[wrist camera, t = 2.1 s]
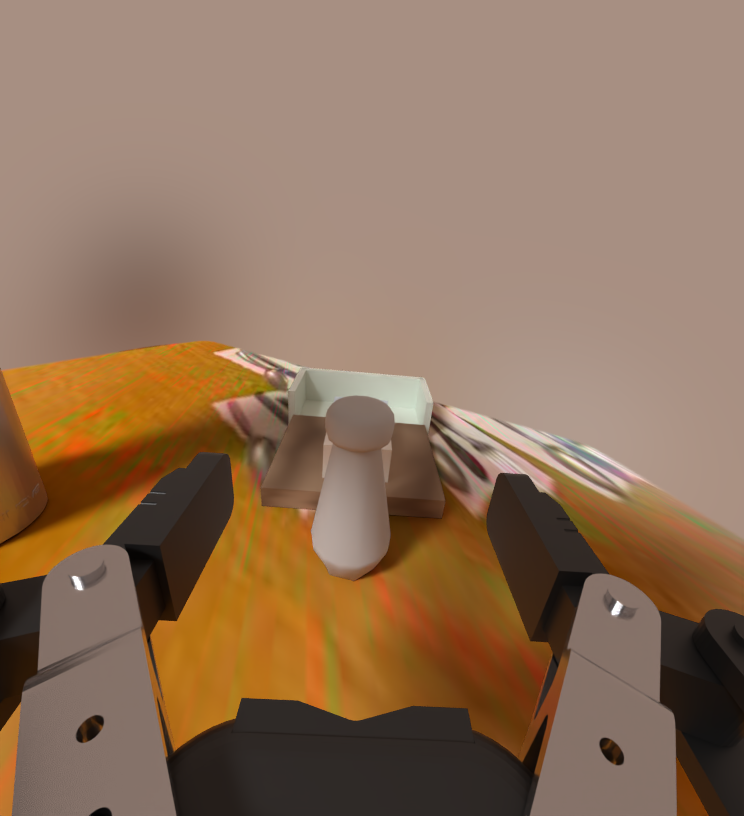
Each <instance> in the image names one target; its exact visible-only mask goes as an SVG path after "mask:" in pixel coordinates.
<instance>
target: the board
mask: <svg viewBox="0 0 744 816" xmlns="http://www.w3.org/2000/svg"><path fill="white" fill-rule="evenodd" d="M325 418H326V417H318V416H305V415H293V416H292V419H291V421H290V423H289V425H288V428H287V430H286V432H285V434H284V437H283V439H282V441H281V443H280V446H279V448H278V450H277V452H276V455H275V457H274V459H273V461H272V464H271V466H270V468H269V470H268V473H267V475H266V477H265V479H264V482H263V484H262V486H261V499H262V506H272V507H286V508H301V509H315V510H316V509H317V505H318V501H319V497H320V493H321V489H322V485H323V481H324V478H322V470H323V444H324V440H325V436H326V428H325ZM391 445H392V454H391V461H390V469H389V476H388V483H387V482H385V488H386V497H387V506H388V515H400V516H414V517H428V518H442V515H443V510H444V506H445V497H444V493H443V490H442V486H441V482H440V479H439V475H438V471H437V468H436V464H435V460H434V457H433V453H432V449H431V446H430V442H429V438H428V435H427V431H426V427H425V425H418V424H406V423H395V425H394V430H393V434H392V437H391Z"/></svg>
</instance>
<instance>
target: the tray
mask: <svg viewBox="0 0 744 816" xmlns="http://www.w3.org/2000/svg"><path fill="white" fill-rule="evenodd" d="M355 395H357V396H368V397H372V398H376V399H379V400H385V401H388V406H389V407H390V408H391V410H392V412H393V413H394V419H395V423H406V424H418V425H425V427H426V431H427V435H428V432H429V426H430V420H431V415H432V409H433V400H432V397H431V394H430V391H429V389H428V386H427V383H426V381H425V378H422V377H410V376H398V375H386V374H374V373H363V372H351V371H339V370H327V369H315V368H303V367H302V368H300V370H299V372H298V374H297V376H296V378H295V379H294V381H293V383H292V385H291V387H290V389H289V390H288V415H289V423H290V421H291V419H292V416H293V415H305V416H318V417H326V413H327V409H328V408H329V407H330V406H331V404H332V403H333V402H334V398H335V396H336V397H346V396H355Z"/></svg>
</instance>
